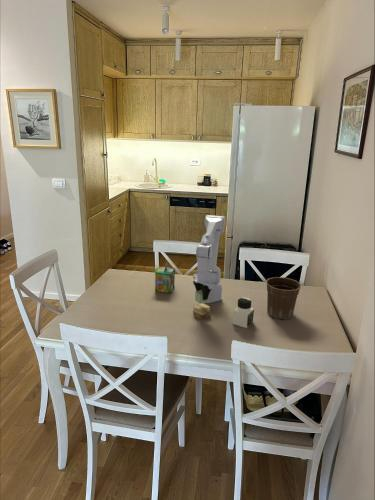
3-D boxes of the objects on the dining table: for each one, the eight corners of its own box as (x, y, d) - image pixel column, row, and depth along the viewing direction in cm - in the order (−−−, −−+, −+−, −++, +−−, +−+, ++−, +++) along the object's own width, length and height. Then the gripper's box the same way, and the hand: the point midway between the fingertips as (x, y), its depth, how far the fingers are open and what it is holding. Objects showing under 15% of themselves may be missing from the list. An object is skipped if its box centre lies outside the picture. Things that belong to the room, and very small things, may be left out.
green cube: (203, 298, 174) (203, 289, 173) (208, 301, 171) (208, 293, 169) (195, 299, 172) (195, 291, 171) (200, 303, 169) (200, 294, 167)
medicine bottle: (247, 328, 163) (249, 304, 160) (232, 324, 167) (234, 300, 163) (253, 322, 169) (255, 298, 165) (239, 318, 173) (240, 294, 169)
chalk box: (159, 285, 207) (159, 260, 202) (174, 287, 205) (175, 262, 201) (154, 291, 198) (154, 266, 194) (170, 293, 197) (171, 268, 192)
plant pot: (274, 303, 189) (278, 274, 184) (303, 314, 178) (307, 283, 173) (256, 313, 178) (259, 282, 173) (285, 325, 167) (289, 293, 162)
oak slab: (201, 307, 177) (201, 302, 177) (209, 311, 174) (210, 306, 173) (193, 311, 174) (193, 306, 173) (201, 315, 170) (202, 310, 169)
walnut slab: (203, 312, 178) (203, 307, 177) (210, 317, 173) (210, 312, 173) (193, 314, 175) (193, 310, 175) (199, 320, 170) (199, 315, 170)
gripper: (187, 266, 171) (187, 293, 175) (204, 277, 159) (203, 305, 163) (200, 264, 174) (199, 290, 179) (217, 274, 162) (216, 302, 167)
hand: (202, 297), depth 171 cm, fingers closed on green cube, 4 cm apart
